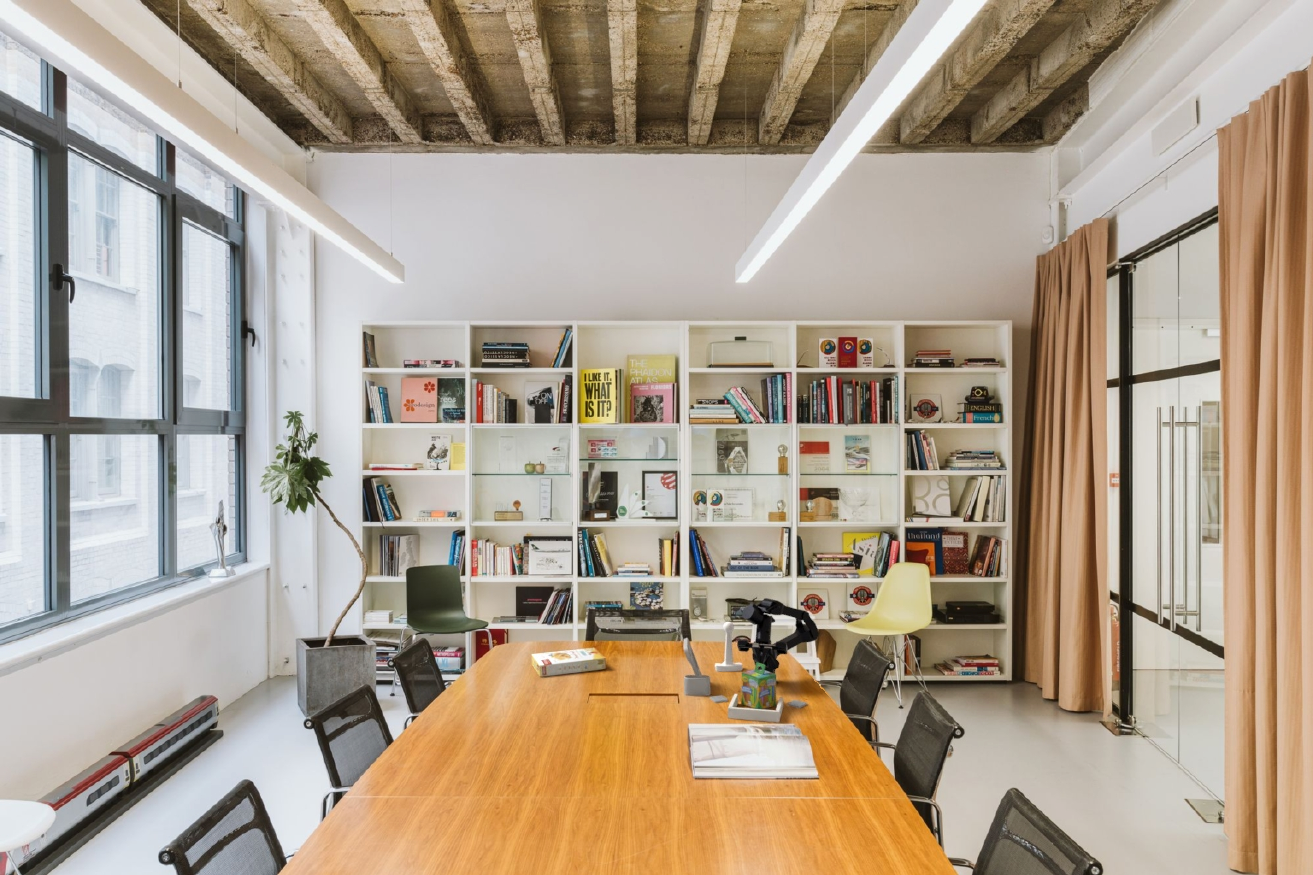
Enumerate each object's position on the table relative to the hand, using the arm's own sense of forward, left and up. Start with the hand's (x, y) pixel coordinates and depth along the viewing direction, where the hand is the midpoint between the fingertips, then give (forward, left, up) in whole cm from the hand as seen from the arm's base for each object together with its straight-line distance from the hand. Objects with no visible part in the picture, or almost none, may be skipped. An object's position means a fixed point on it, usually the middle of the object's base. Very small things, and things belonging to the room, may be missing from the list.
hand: (760, 668), depth 290 cm
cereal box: (+42, -73, -10) cm, 85 cm away
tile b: (+18, -3, -10) cm, 21 cm away
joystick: (-10, -30, -9) cm, 33 cm away
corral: (+16, +14, -9) cm, 23 cm away
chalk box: (+10, +10, -9) cm, 17 cm away
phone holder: (+16, -18, -9) cm, 26 cm away
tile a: (-1, +18, -10) cm, 20 cm away
